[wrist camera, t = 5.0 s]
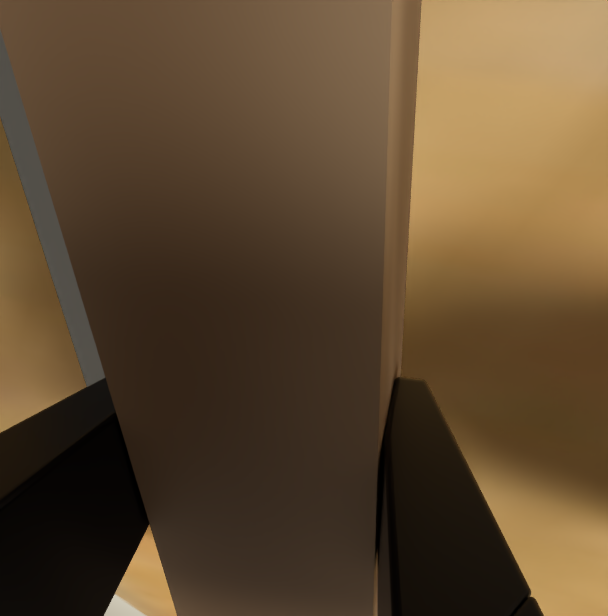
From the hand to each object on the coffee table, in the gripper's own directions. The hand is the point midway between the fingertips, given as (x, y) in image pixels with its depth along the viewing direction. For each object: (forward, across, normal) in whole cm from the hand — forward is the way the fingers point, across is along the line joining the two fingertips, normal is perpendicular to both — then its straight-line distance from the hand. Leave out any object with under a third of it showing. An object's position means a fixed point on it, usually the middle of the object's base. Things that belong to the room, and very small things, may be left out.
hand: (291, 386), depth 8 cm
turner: (+1, 0, +3) cm, 3 cm away
